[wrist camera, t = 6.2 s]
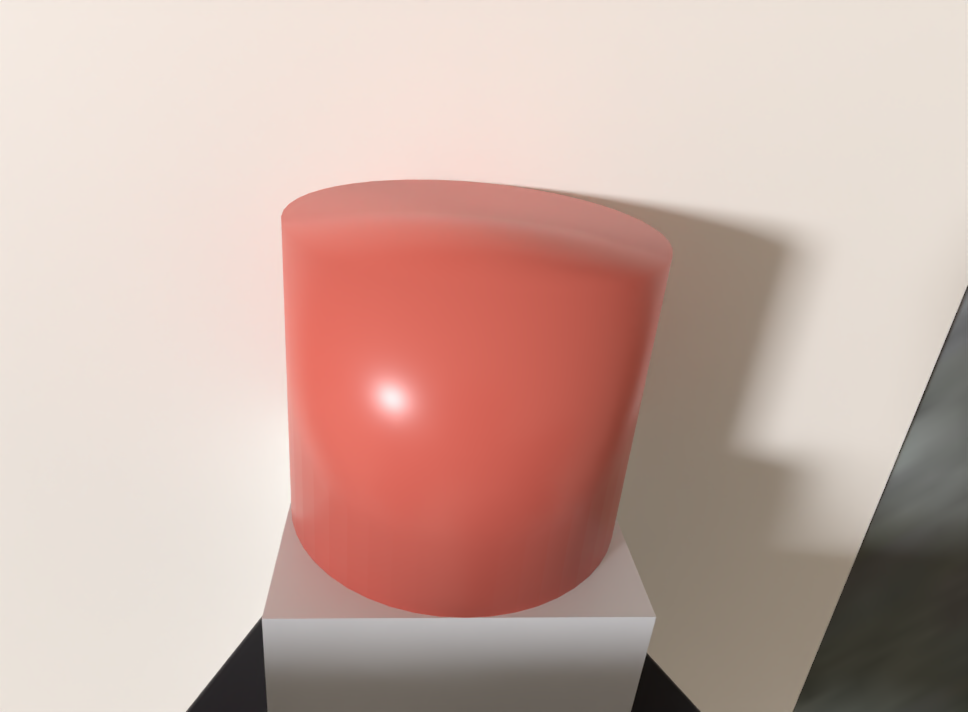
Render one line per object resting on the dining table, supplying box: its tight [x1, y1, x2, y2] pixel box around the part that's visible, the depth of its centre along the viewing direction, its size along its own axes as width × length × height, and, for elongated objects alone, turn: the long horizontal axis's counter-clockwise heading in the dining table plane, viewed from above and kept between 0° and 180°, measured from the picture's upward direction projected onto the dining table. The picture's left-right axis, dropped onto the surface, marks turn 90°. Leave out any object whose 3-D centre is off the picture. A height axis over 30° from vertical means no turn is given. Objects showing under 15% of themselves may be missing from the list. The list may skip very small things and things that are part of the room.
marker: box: [262, 180, 673, 712], centre depth 9 cm, size 11×3×3 cm, turn 175°
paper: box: [0, 0, 968, 712], centre depth 9 cm, size 18×13×1 cm
